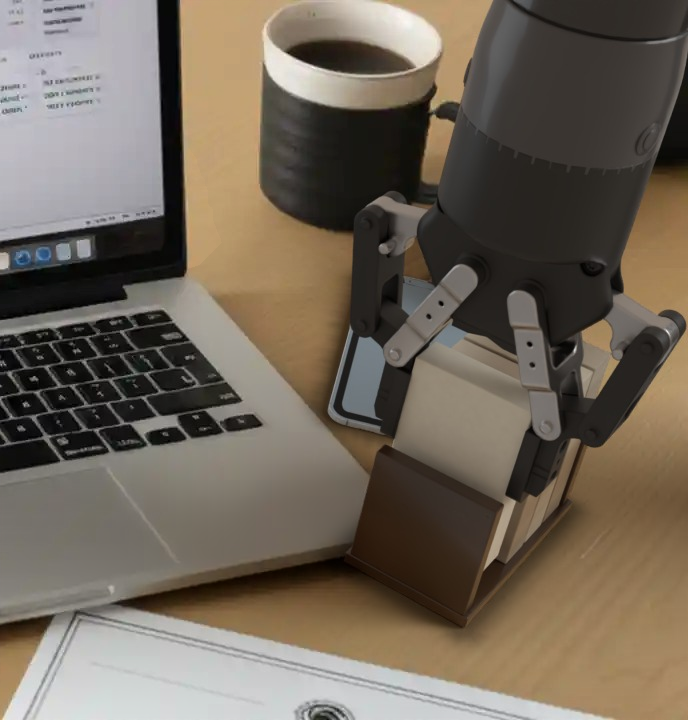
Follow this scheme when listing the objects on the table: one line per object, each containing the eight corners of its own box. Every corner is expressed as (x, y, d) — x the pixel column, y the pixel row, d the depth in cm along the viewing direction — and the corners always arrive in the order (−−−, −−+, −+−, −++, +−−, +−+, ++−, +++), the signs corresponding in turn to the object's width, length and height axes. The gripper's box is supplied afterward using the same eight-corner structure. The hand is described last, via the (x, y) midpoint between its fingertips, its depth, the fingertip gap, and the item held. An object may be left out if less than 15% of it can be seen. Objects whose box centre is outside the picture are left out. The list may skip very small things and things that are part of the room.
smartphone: (324, 415, 84) (365, 267, 96) (321, 428, 85) (362, 279, 97) (470, 450, 83) (493, 295, 95) (466, 463, 84) (489, 307, 95)
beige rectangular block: (498, 555, 74) (552, 395, 69) (480, 575, 73) (533, 413, 68) (391, 498, 77) (435, 340, 72) (372, 517, 76) (415, 356, 71)
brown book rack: (569, 509, 80) (627, 348, 75) (464, 628, 73) (519, 459, 67) (455, 452, 83) (502, 293, 78) (342, 561, 76) (386, 393, 70)
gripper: (782, 149, 62) (645, 496, 72) (440, 23, 69) (358, 355, 78) (709, 219, 57) (573, 582, 67) (348, 75, 64) (273, 423, 73)
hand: (457, 458), depth 72 cm, fingers closed on beige rectangular block, 5 cm apart
